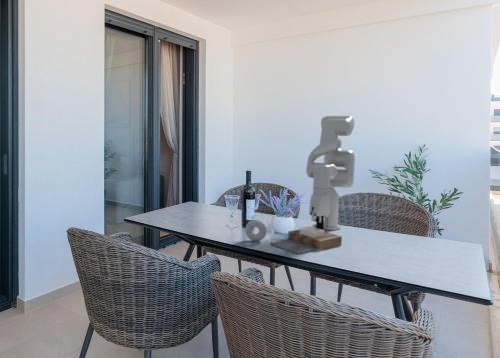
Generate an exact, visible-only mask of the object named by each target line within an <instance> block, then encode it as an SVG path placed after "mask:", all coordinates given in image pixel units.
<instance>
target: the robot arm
mask: <svg viewBox="0 0 500 358" xmlns="http://www.w3.org/2000/svg"><path fill="white" fill-rule="evenodd" d="M320 125H321V133H320V139H319V144H318V145H317V146H316V147H314V148H313V150H312V151H311V152H310V153H309V155H308V157H307V163H306V168H305V169H306V171H305V173H306V176H307V177H308V178H310V179H312V181H313V182H312V183H313V184H312V194H311V197H310V201H309V209H308V211H309V213H308V214H309V216H311V220H314V221H315V223H316V224H315V228H318V229H322V230H325V231H326V230H329V231H333V230H334V231H336V230H340V229H341V225H340V224H339V202H340V201H339V200H340V197H339V192H338V191H337V190H336V188H352V187H353V185H354V175H355V163H356V162H355V161H356V159H355V158H356V157H355V153H354V151H353V150H350V149H342V139H341V138H340V137H341V136H342V137H344V136H345V137H349V136H350V135H351V134H352V132H353V131H354V128H355V119H354V116H351V115H327V116H323V117H322V118H321V120H320ZM320 157H323V162H316V160H317V159H318V158H320ZM342 168H344V169H342Z"/></svg>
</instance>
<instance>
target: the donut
mask: <svg viewBox="0 0 500 358" xmlns="http://www.w3.org/2000/svg"><path fill="white" fill-rule="evenodd" d="M254 228H257V229H258V230H259V231H258V232H257V233H254V232H253V229H254ZM244 229H245V230H244V231H245V235H246V237H247V238H248V239H249V240H250V241H253V242H259V241H262V240H263V239H265V237H266V235H267V227H266V224H265V223H264V222H263V221H261V220H259V219H252V220H250V221H248V223H246V225H245V227H244Z"/></svg>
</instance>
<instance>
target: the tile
mask: <svg viewBox="0 0 500 358" xmlns="http://www.w3.org/2000/svg"><path fill="white" fill-rule="evenodd" d="M299 229H300V232H299V234H303V235H306V236H310V237H313V238H315V237H320V236H324V235H325V232H326V230H325V229H324V230H322V229H318V228H316V227H314V226H310V225H309V226H305V227H300V228H299Z"/></svg>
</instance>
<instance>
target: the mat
mask: <svg viewBox="0 0 500 358" xmlns="http://www.w3.org/2000/svg"><path fill="white" fill-rule="evenodd" d="M269 244H270V245H271V246H274V247H276V248H279V249H281V250H285V251H288V252H290V253H292V254H295V255H302V254H306V253H310V252H315V251H317V250H318V249H316V248H313V247H310V246H307V245H304V244H301V243H298V242H295V241H292V240H289V239H282V240H278V241H274V242H269Z"/></svg>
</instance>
